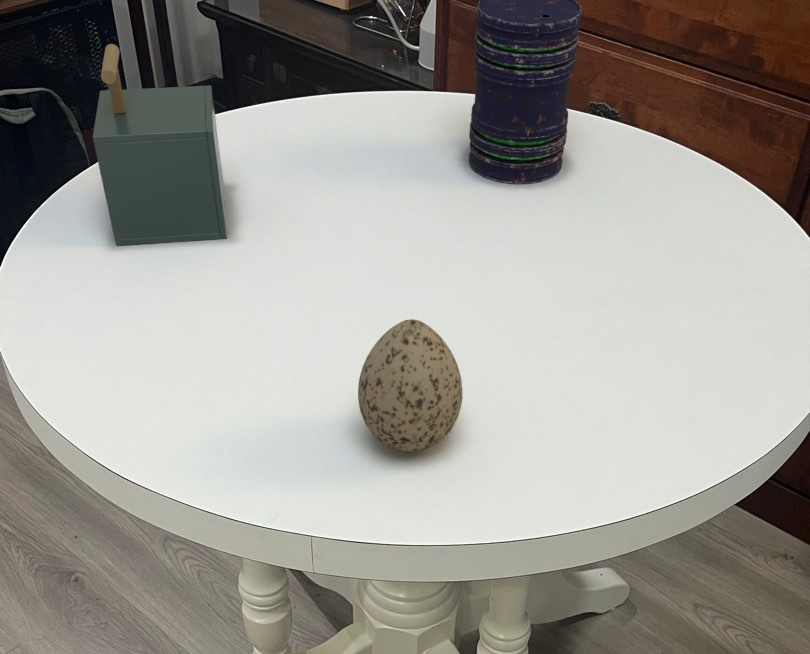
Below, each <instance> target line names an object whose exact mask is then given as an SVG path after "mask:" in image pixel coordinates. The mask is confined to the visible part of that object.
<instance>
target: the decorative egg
mask: <svg viewBox="0 0 810 654" xmlns="http://www.w3.org/2000/svg"><path fill="white" fill-rule="evenodd" d="M357 399H358V400H357V401H358V406H359V407H358V408H359V411H360V414H361V417H362V420H363V421H364V424H365V425H366V427H367V429H368V430H369V432H370V433H371V434H372V435H373V436H374V437H375V438H376V439H377V440H378V441H379V442H380V443H381V444H383V445H384V446H386V447H389V448H391V449H393V450H396V451H398V452H402V453H403V452H405V453H415V452H421V451H425V450H428V449H430V448H432V447H434V446H435V445H438V444H439V443H440V442H441V441H443V440H444V439H445V438H446V437H447V436H448V435H449V433H450V432H451V431H452V429H453V428H454V426H455V424H456V423H457V420H458V419H459V416H460V412H461V409H462V404H463V381H462V376H461V372H460V369H459V366H458V363H457V361H456V358H455V356H454V354H453V353H452V351H451V349H450V347H449V346H448V344H447V343H446V342H445V340H444V339H443V338H442V337H441V336H440V335H439V334H438V332H437V331H435V329H433V328H432V327H430V325H428V324H427V323H425V322H423V321H422V320H419V319H418V320H417V319H413V318H412V319H405V320H402V321H400V322H398V323H396V324H395V325H393V326H392V327H391V328H389V329H388V330H387V331H386V332H385V333H384V334H383V335H382V336H381V337H380V338H379V339H378V340H377V341H376V342H375V344H374V345H373V346H372V347H371V349H370V351H369V353H368V354H367V356H366V358H365V361H364V363H363V365H362V367H361V370H360V374H359V378H358V386H357Z"/></svg>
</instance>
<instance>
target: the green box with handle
mask: <svg viewBox="0 0 810 654" xmlns="http://www.w3.org/2000/svg"><path fill="white" fill-rule="evenodd" d="M120 55H121V54H120V48H119V47H118V45H116V44H114V43H109V44H107V45H106V46H105V49H104V55H103V61H102V68H101V73H100V78H101V81H102V82H103V83H104V84H106V85H107V87H108V89H107V90H106V89H105V90H100V91H99V94H98V102H97V107H96V108H97V109H96V115H95V122H94V127H93V133H92V140H93V141H92V142H93V145H94V146H93V147H94V149H95V155H96V160H97V163H98V169H99V173H100V178H101V182H102V183H101V184H102V187H103V193H104V197H105V201H106V206H107V210H108V214H109V221H110V223H111V229H112V233H113V239H114V242H115V246H131V245H149V244H161V243H162V244H164V243H178V242H180V243H181V242H193V241H210V240H226V239H227V238H228V235H227V215H226V196H225V184H224V175H223V166H222V160H221V151H220V144H219V136H218V135H219V134H218V128H217V120H216V113H215V104H214V97H213V88H212V87H213V86H212V85H194V86H193V85H192V86H171V87H153V88H152V87H150V88H129V89H123V87H122V82H121V81H122V80H121V77H120V71H119V60H120Z"/></svg>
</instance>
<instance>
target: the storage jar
mask: <svg viewBox="0 0 810 654" xmlns="http://www.w3.org/2000/svg"><path fill="white" fill-rule="evenodd" d="M581 16H582V6H581V5H580V3H578V1H576V0H479V1H478V3H477V17H478V18H477V20H476V31H475V34H474V55H473V63H474V69H475V71H476V72H475V73H476V75H475V91H474V102H473V105H472V106H471V113H470V124H469V132H468V133H469V135H468V138H469V141H470V142H469V149H470V153H469V154H468V164H469V167H470V168H471V170H472V171H474V173H476V174H477V175H479V176H480V177H483V178H485V179H486V180H487V179H488V180H490V181H493V182H496V183H497V182H499V183H502V184H510V185H511V184H512V185H526V184H527V185H529V184H536V183H542V182H544V181H547V180H550V179H552V178H554V177H555V176H557V175H558V174H559V173H560V171H561V169H562V167H563V157H562V155H563V154H564V151H565V145H566V142H567V135H568V128H567V127H568V123H569V111H568V99H569V92H570V83H571V77H572V75H573V74H574V71H575V67H576V65H577V63H576V62H577V61H576V57H577V56H576V55H577V53H578V48H579V32H580V24H579V22H580V20H581Z"/></svg>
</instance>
